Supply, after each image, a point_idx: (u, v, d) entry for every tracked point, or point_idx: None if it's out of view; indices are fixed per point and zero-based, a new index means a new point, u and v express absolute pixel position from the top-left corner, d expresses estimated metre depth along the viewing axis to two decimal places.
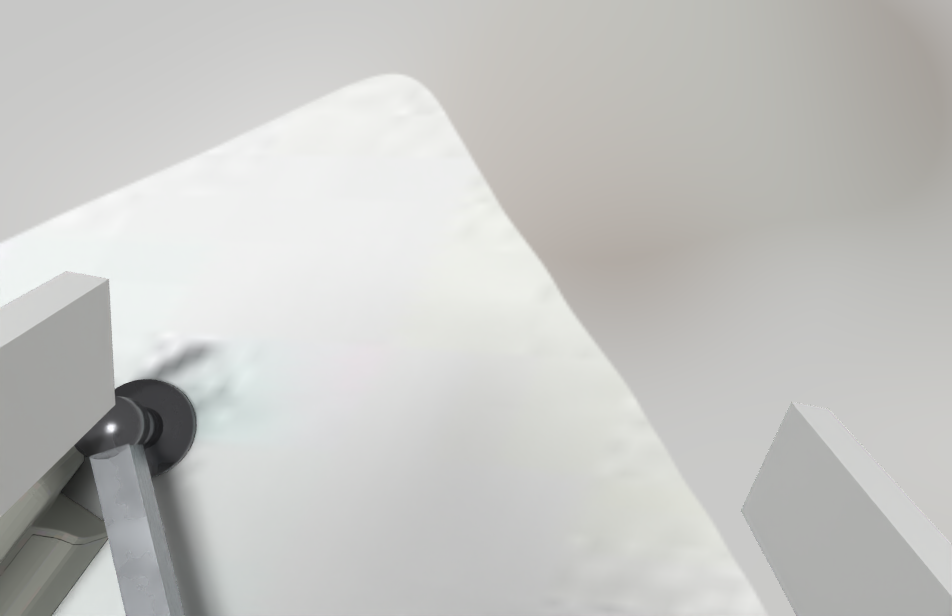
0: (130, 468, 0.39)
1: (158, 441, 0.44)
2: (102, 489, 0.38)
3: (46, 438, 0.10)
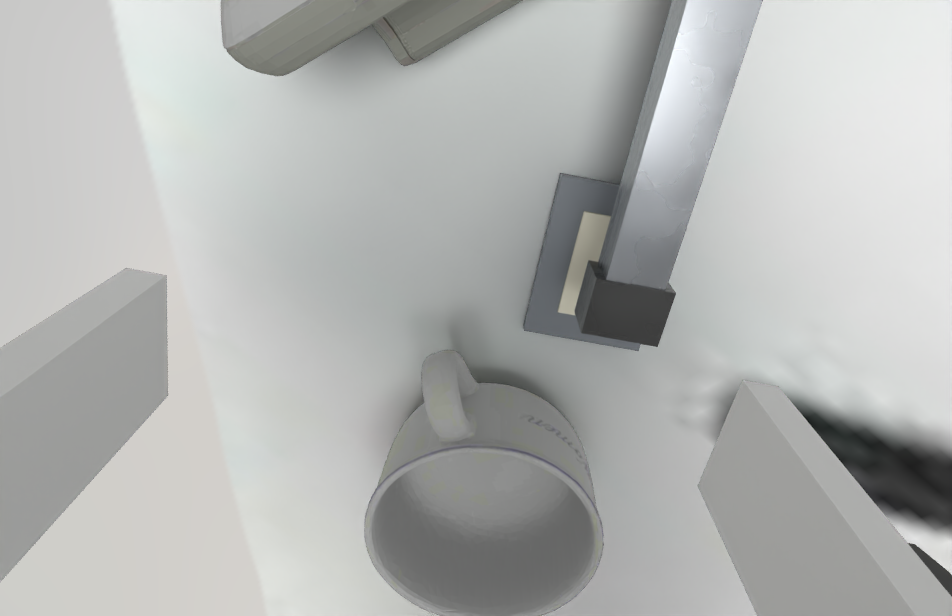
0: None
1: None
2: None
3: (112, 426, 0.11)
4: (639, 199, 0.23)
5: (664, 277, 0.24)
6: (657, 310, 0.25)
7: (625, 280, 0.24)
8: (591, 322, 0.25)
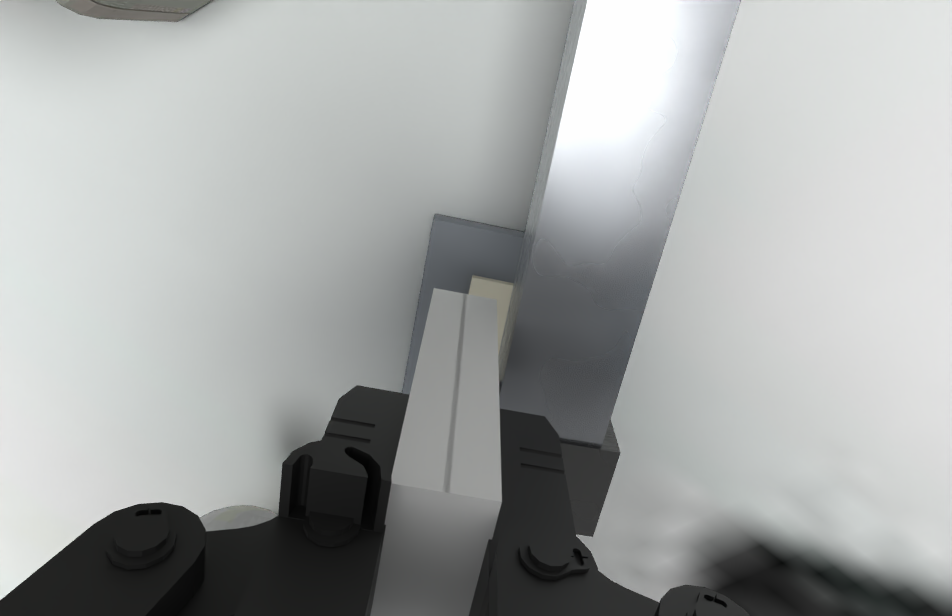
0: None
1: None
2: None
3: None
4: (542, 292, 0.12)
5: (598, 425, 0.13)
6: (588, 480, 0.14)
7: None
8: None
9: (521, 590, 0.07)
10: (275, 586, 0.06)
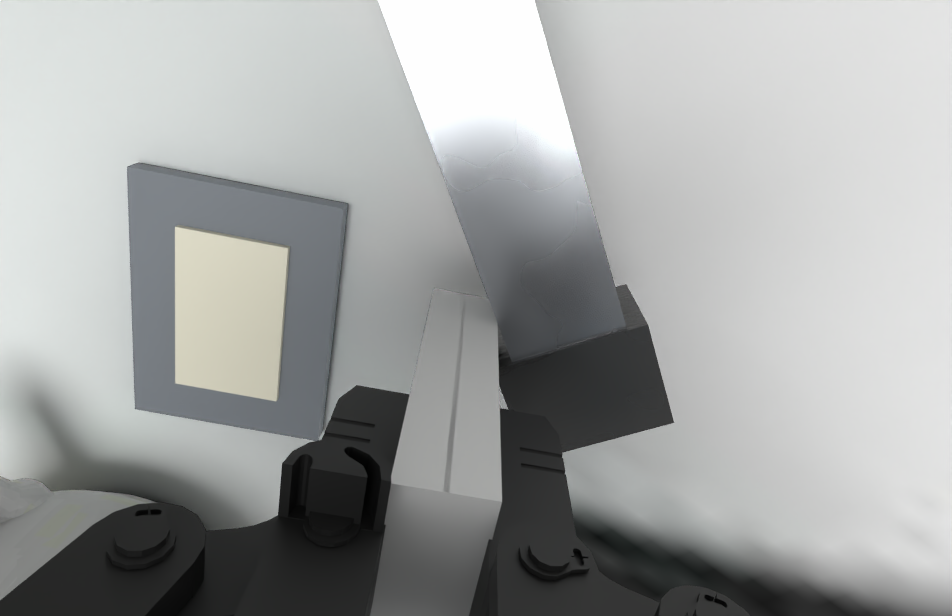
0: None
1: None
2: None
3: None
4: (475, 206, 0.11)
5: (610, 308, 0.12)
6: (633, 367, 0.13)
7: (545, 347, 0.13)
8: None
9: (521, 590, 0.07)
10: (274, 586, 0.06)
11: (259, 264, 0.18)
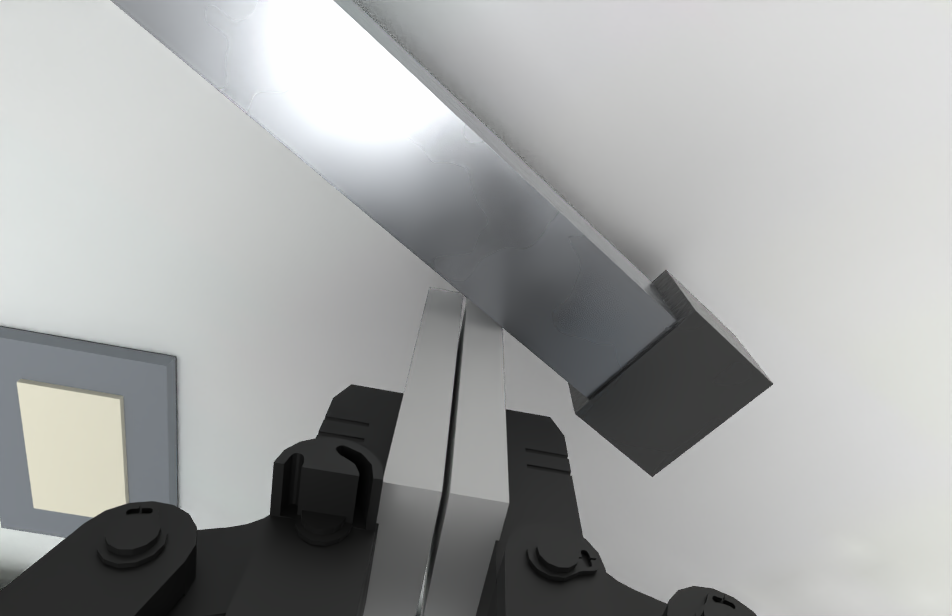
0: None
1: None
2: None
3: None
4: (482, 287, 0.12)
5: (652, 312, 0.12)
6: (704, 353, 0.12)
7: (611, 373, 0.13)
8: (645, 454, 0.13)
9: (529, 591, 0.07)
10: (266, 585, 0.06)
11: (96, 412, 0.20)
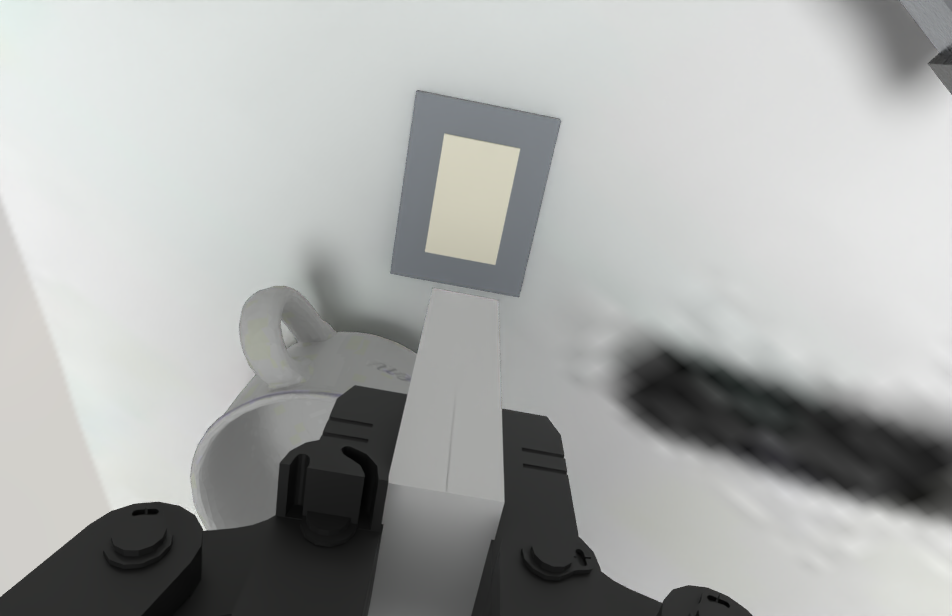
0: None
1: None
2: None
3: None
4: None
5: None
6: None
7: None
8: None
9: (524, 591, 0.07)
10: (272, 586, 0.06)
11: (498, 161, 0.26)
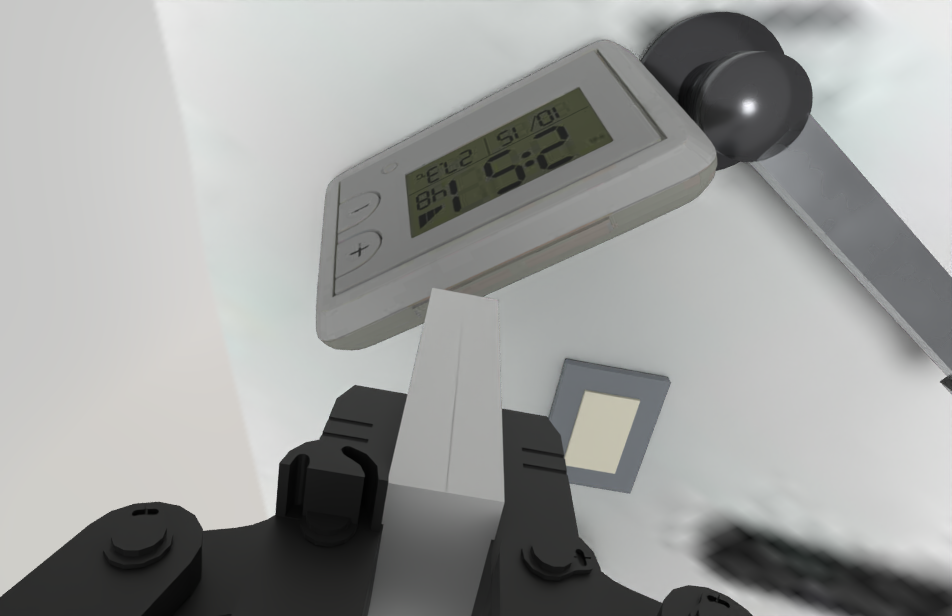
0: (827, 144, 0.24)
1: None
2: (798, 191, 0.25)
3: None
4: (945, 350, 0.27)
5: None
6: None
7: None
8: None
9: (523, 590, 0.07)
10: (272, 586, 0.06)
11: (623, 408, 0.35)
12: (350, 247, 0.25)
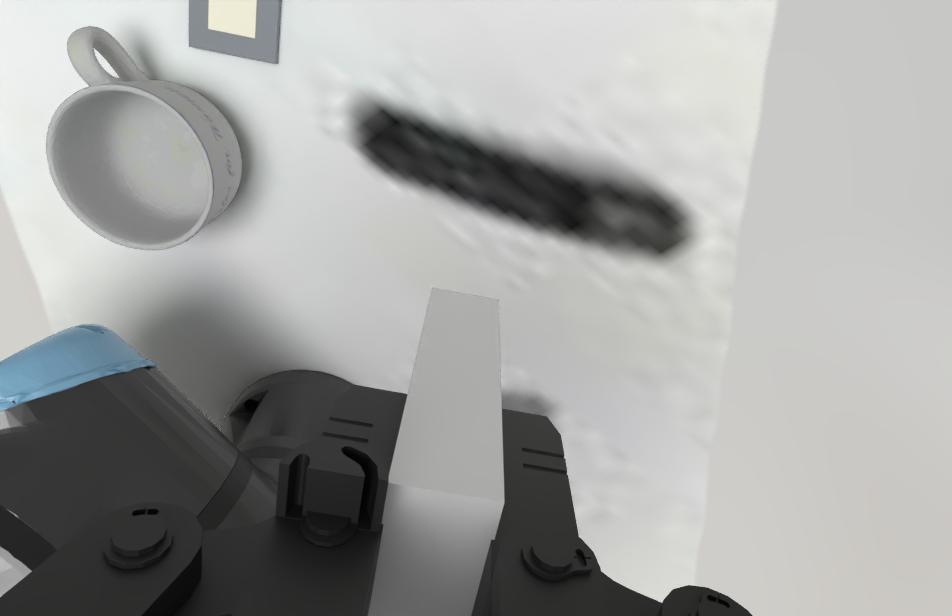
0: None
1: None
2: None
3: None
4: None
5: None
6: None
7: None
8: None
9: (524, 590, 0.07)
10: (272, 586, 0.06)
11: None
12: None
